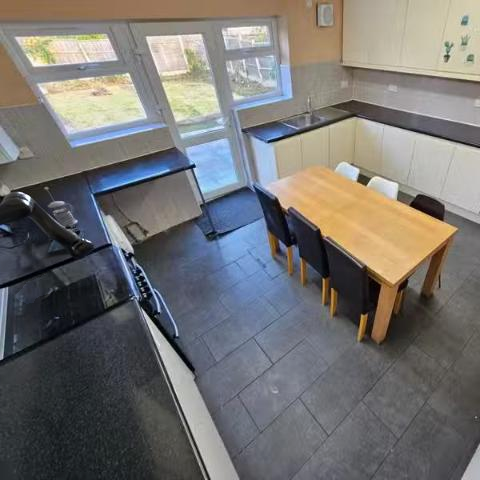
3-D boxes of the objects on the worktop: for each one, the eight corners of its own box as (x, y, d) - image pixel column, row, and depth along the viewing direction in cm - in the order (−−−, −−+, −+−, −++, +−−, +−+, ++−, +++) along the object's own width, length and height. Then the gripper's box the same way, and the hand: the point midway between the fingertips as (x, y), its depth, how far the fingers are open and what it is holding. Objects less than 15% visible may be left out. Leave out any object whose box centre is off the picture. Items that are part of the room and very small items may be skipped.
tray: (79, 248, 155) (76, 245, 153) (50, 256, 150) (47, 252, 149) (84, 232, 167) (82, 229, 166) (58, 238, 163) (55, 235, 161)
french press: (54, 226, 172) (30, 189, 158) (73, 217, 181) (52, 182, 167) (65, 228, 169) (41, 191, 155) (84, 219, 178) (63, 184, 164)
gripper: (79, 226, 149) (67, 216, 157) (49, 239, 140) (37, 228, 148) (87, 236, 154) (74, 227, 162) (58, 250, 145) (46, 239, 153)
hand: (56, 227), depth 155 cm, fingers closed on brush, 3 cm apart
